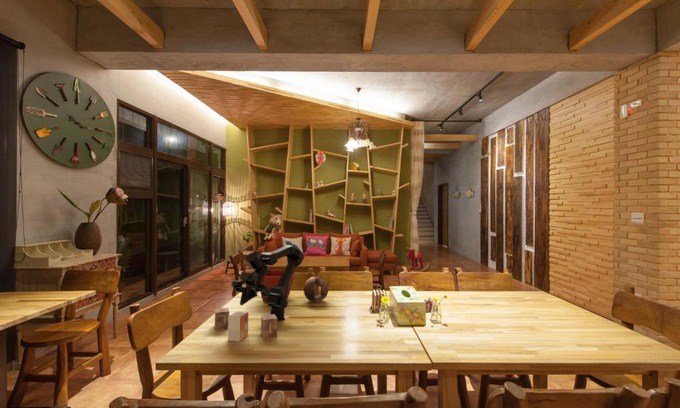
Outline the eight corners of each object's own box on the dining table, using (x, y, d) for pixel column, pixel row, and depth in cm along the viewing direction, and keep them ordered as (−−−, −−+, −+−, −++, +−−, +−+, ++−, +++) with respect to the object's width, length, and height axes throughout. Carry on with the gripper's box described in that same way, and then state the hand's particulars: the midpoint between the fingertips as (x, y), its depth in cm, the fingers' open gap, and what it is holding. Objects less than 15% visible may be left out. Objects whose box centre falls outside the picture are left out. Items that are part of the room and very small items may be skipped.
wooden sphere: (306, 297, 209) (307, 274, 210) (330, 299, 207) (330, 275, 208) (300, 304, 195) (301, 279, 195) (325, 306, 192) (326, 280, 193)
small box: (239, 342, 139) (240, 317, 139) (227, 340, 140) (227, 315, 140) (248, 335, 147) (249, 311, 147) (236, 334, 148) (237, 310, 148)
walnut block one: (274, 331, 151) (274, 314, 152) (276, 336, 146) (277, 318, 146) (260, 333, 149) (261, 315, 149) (263, 338, 143) (263, 320, 144)
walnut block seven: (227, 324, 160) (228, 307, 160) (228, 328, 154) (229, 311, 154) (214, 325, 158) (215, 308, 158) (215, 330, 152) (215, 312, 152)
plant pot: (289, 305, 192) (289, 276, 192) (256, 304, 192) (257, 275, 193) (294, 296, 211) (294, 270, 212) (264, 296, 212) (264, 269, 212)
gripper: (234, 262, 154) (215, 291, 144) (266, 266, 146) (249, 297, 136) (245, 277, 161) (228, 305, 151) (277, 281, 153) (261, 311, 143)
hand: (240, 304), depth 145 cm, fingers closed
